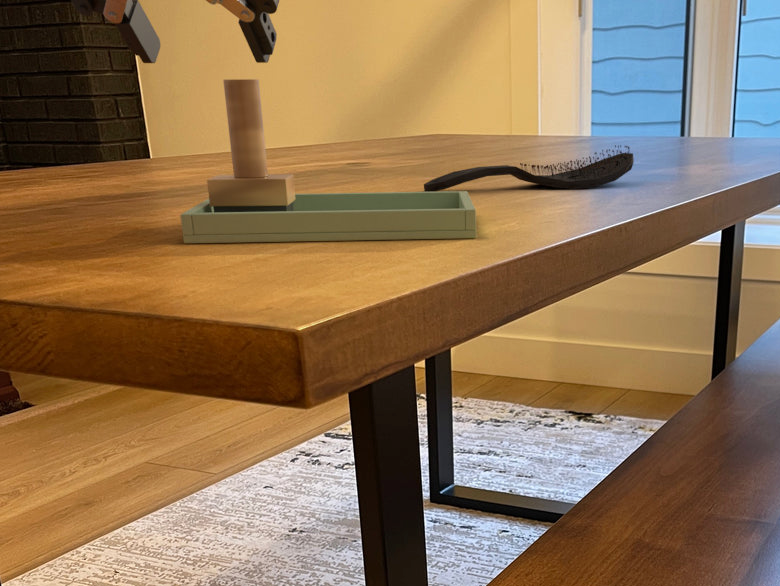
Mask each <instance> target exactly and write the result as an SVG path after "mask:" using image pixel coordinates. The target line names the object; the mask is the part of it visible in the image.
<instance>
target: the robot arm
mask: <svg viewBox="0 0 780 586" xmlns="http://www.w3.org/2000/svg"><path fill="white" fill-rule="evenodd" d="M205 1H206V2H207V3H209V4H210V5H213V6H215V5H217V4H219V5H221V6H222V7H223V8H225V9H226V10H227V11H229V12H230V13H231V14H232V15H234V16H235V17H236V18H238V25H239V27H240V29H241V32H242V34H243V37H244V38H245V40H246V43H247V45H248V48H249V49H250V52H251V55H252V56H253V58H254V61H255V62H256V63H257V64H261V63H262V64H264V63H265V64H267V63H269V60H270V57H271V56H272V55H273V53H274V50H275V46H276V42H277V31H276V29H275V27H274V23H273V22H272V19H271V17H270V15H273V14H275V13H277V10H278V7H279V3H280V0H205ZM70 2H71V4H72V5H73V7H74V9H75V10H76V12H77V13H79V14H80V15H82V16H85V17H92V15H93V14H94V13H97V14H100V15H103V16H104V17H105V19H106V20H108V21H109V22H111V23H112V24H114V25H115V26H116V29H117V30H118V31H119V33H120V35H121V37H122V38H123V40H124V41H125V43H126V45H127V47H128V48H129V50H130V51H131V52H132V53H133V54H134V55H135V56H138V57H139V59H140V60H141V62H142V63H143V64H155V63H156V62H157V59H158V55H159V52H160V49H161V40H160V37H159V35H158V34H157V31H156V30H155V28H154V26H153V25H152V23H151V21H150V19H149V17H148V16H147V13H146V12H145V10H144V9H143V7H142V5H141V2H140V0H70Z"/></svg>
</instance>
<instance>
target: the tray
mask: <svg viewBox="0 0 780 586" xmlns="http://www.w3.org/2000/svg"><path fill="white" fill-rule="evenodd" d="M293 209H294V211H278V212H216V213H214V209H213V207H211V206H210V201H209V198H207V199H205V200H203V201H201V202H200V203H198V204H197V205H195V206H193V207H191V208H189V209H187V210H186V211H183V212H182V213H180V214H179V215H180V216H179V217H180V223H181V230H182V232H181V233H182V235H183V236H182V239H183V244H185V245H187V244H231V243H232V244H235V243H238V244H239V243H241V244H242V243H287V242H289V243H291V242H294V243H295V242H340V241H341V242H342V241H343V242H344V241H347V242H348V241H350V242H351V241H399V240H400V241H401V240H403V241H404V240H448V239H449V240H452V239H454V240H456V239H458V240H459V239H476V238H477V210H476V207H475V205H474V203H473V201H472V198H471V197H470V195H469V192H468V190H452V191H451V190H448V191H446V190H445V191H443V190H440V191H435V192H424V191H386V192H385V191H382V192H381V191H379V192H373V191H372V192H317V193H314V192H313V193H307V192H306V193H295V200H294V201H293Z"/></svg>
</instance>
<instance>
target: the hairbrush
mask: <svg viewBox="0 0 780 586" xmlns="http://www.w3.org/2000/svg"><path fill="white" fill-rule="evenodd" d="M614 148H617V149H616V151H615V150H614V149H612V153H615V152H616V153H615V154H612V155H611V154H610V152H611V149H610V148H609V149H607V148H606V151H605V153H606V155H607V157H605V153H604V149H602V152H599V155H600V157H603V158H601V159H600V157H597V156H598V154H597V152H594V155H595V157H596V159H595V157H594V156H592V158H591V156H590V155H589V156H588V157H586V158H585V157H582V159H580V160H578V158H576V159H575V160H574V161H573V160H569V161H568V162H566V161H564V162H563V163H562V162H558V164H556V165H555V164H554V163H552V164H546V165H545V166H544V165H543V164H542V165H539V164H537V165H536V164H531V166H530V164H527V163H521V162H520V164H519V165H520V167H518V166H515V165H507V164H504V165H503V164H502V165H487V166H486V165H485V166H476V167H471V168H466V169H460V170H455V171H450V172H448V173H445V174H444V175H440V176H438V177H436V178H433V179H430V180H429V181H428V182H425V183H424V184H423V189H424V190H423V192H440V191H443V190H446V189H447V190H448V189H450V188H452V187H453V188H454V187H457V186H459V185H461V184H464V183H467V182H471V181H475V180H479V179H482V178H483V179H484V178H487V177H496V176H509V175H510V176H512V177H514V178H516V179H517V180H519V181H523V182H527V183H530V184H535V185H540V186H547V187H551V188H557V189H558V188H559V189H570V190H582V189H590V188H596V187H600V186H603V185H606V184H609V183H612V182H613V183H614V182H616V181H617V180H619V179H620V178H622V177H623V176H625V175H626V174H627V173H629V172H630V171H631V170H632V169H633V166H634V163H635V162H634V161H635V158H634V153H631V150H630V149H631V148H630V146H628V145H624V148H625V149H627V151H625V152H622V149H620V148H622V145H621V144H620V145H614ZM601 155H602V156H601ZM584 158H585V160H584ZM588 158H589V163H588ZM592 159H593V160H594V161H593V162H592ZM582 160H583V161H582ZM576 162H577V163H576ZM585 162H586V163H585ZM580 163H581V164H580ZM573 164H574V167H573ZM527 165H528V167H531V170H532V173H531V171H529V172H528V170H527V169H528V168H527ZM569 165H570V166H569ZM558 167H559V168H558ZM524 168H525V169H524ZM540 169H541V170H542V171H540ZM535 170H537V172H538V173H537V172H536V171H535ZM546 170H547V171H546ZM541 172H542V174H541ZM537 174H538V175H537Z"/></svg>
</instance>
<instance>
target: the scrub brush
mask: <svg viewBox="0 0 780 586" xmlns="http://www.w3.org/2000/svg"><path fill="white" fill-rule="evenodd" d="M222 82H223V90H224V91H223V92H224V99H225V108H226V117H227V126H228V135H229V143H230V145H229V146H230V154H231V163H232V171H233V174H218V175H215V176H213V177H210V178H207V179H206V183H207V184H206V185H207V192H208V199H209V201H210V206H211V207H213V209H214V213H216V212H278V211H294V209H293V201H294V200H295V194H296V189H295V179H294V177H295V176H294V174H291V173H290V174H289V173H287V174H286V173H285V174H281V173H279V174H277V173H276V174H275V173H273V174H269V171H268V160H267V151H266V141H265V130H264V120H263V110H262V101H261V100H262V98H261V90H260V80H259V79H257V78H256V79H254V78H253V79H252V78H248V79H247V78H245V79H244V78H243V79H241V78H240V79H237V78H236V79H235V78H233V79H230V78H229V79H223V81H222Z"/></svg>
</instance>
